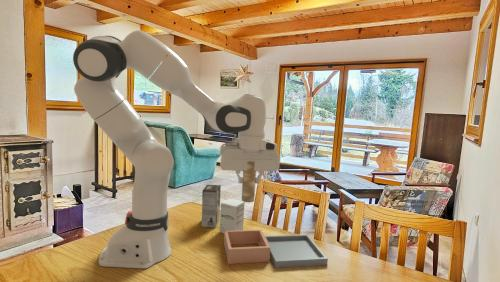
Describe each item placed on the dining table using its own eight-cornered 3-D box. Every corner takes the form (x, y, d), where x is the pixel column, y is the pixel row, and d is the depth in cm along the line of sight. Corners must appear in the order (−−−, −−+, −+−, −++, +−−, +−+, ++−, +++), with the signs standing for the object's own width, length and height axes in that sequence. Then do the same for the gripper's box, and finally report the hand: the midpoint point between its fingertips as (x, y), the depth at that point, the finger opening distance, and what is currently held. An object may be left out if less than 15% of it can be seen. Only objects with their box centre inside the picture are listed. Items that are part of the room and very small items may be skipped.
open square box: (228, 263, 95) (228, 249, 94) (224, 243, 108) (224, 230, 108) (269, 261, 97) (270, 247, 97) (260, 241, 111) (261, 229, 110)
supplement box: (218, 232, 117) (220, 202, 116) (228, 226, 124) (229, 197, 122) (234, 237, 114) (235, 206, 112) (243, 230, 120) (245, 201, 119)
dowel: (242, 202, 98) (244, 161, 96) (240, 198, 102) (242, 159, 100) (255, 202, 99) (257, 162, 97) (252, 198, 103) (255, 159, 101)
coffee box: (205, 218, 131) (206, 184, 129) (219, 219, 131) (221, 184, 128) (201, 226, 122) (202, 189, 120) (216, 228, 121) (217, 191, 119)
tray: (275, 267, 94) (275, 261, 93) (262, 241, 111) (263, 236, 111) (327, 264, 97) (327, 258, 97) (307, 239, 115) (307, 234, 114)
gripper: (221, 143, 93) (219, 185, 95) (282, 145, 97) (279, 185, 98) (219, 141, 99) (218, 180, 101) (277, 143, 103) (274, 180, 105)
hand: (248, 183), depth 100 cm, fingers closed on dowel, 4 cm apart
